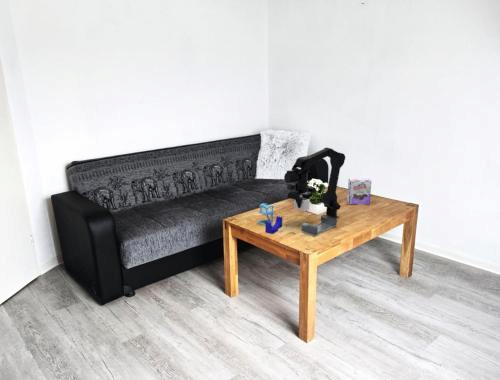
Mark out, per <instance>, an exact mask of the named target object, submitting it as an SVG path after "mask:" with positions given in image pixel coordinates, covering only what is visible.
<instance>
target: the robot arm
mask: <svg viewBox="0 0 500 380" xmlns="http://www.w3.org/2000/svg"><path fill="white" fill-rule="evenodd" d="M326 157H328V158H329V163H330V166H331V167H330V168H331V169H330V175H329V180H328V186H327V191H326V192H325V193H324V192H323V193H322V198H321V202H322V204H323V206H324V208H326V211H325V213H326V214H325V215H327V216H330V217H334V218H337V219H339V218H340V217H339V216H338V211H339V210H340V208H341V204H340V203H338V195H337V188H338V182H339V176H340V170H341V168H342V167H343V166H344V164H345V160H346V155H345V154H344V153H342V152H338V151H336V150H334V149H333V148H330V147H327V146H326V147H324V148H323V149H320V150H319V151H316V152H314V153H312V154H310V155H305V156H299V157H298V158H296V160H295V162H294V164H293V166H292V168H291V170H286V173H285V174H284V176H283V177H284V179H283V180H284V182H285V183H286V185H287V186H286V189H287V190H288V191H289V192H288V193H286V194H287V197H286V198H288V199H291V200H294V199H295V200H296V203H297V206H298V208H300V207H301V203H302V199H303V198H306V199H310V198H311V197H312V195H313V194H316V193H317V188H316V187H314V186H310V185H309V184H310V182H309V181H308V174H309V173H311V172H312V170H311V169H310V168H311V167H312V165H314V163H316V162H319V161H321V160H322V159H325V158H326ZM292 183H294V184H292ZM302 197H303V198H302Z"/></svg>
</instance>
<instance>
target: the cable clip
mask: <svg viewBox="0 0 500 380" xmlns="http://www.w3.org/2000/svg"><path fill="white" fill-rule="evenodd" d="M275 217H276V219H275V222H274V224H272V223H273V222H272V223H271V222H270V221H267V222H264V224H265V226H264V227H265V228H264V229H265V233H266V232H267V234H270V235H273V234H275V233H277V232H278V231H279V229H281V228H282V227H283V217H282V216H278V215H277V216H275Z"/></svg>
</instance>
